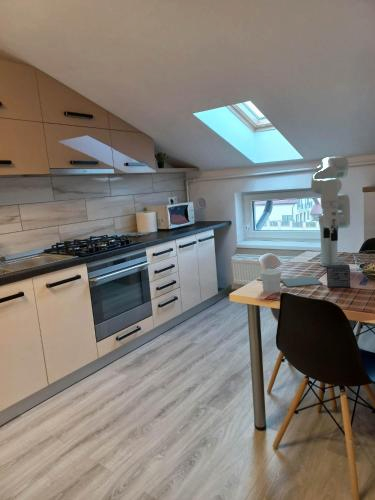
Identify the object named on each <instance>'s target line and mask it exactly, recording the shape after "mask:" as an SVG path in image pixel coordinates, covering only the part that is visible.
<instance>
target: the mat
mask: <svg viewBox="0 0 375 500" xmlns="http://www.w3.org/2000/svg"><path fill="white" fill-rule="evenodd" d="M280 282H282V284H284V286H285V287H287V288H295V287H297V288H298V287H306V286H308V287H309V286H317V285H319V286H320V285H324V284H323V281H320V280H319V279H318V278H316V277H315V276H313V275H311V276H300V277H291V278H289V277H288V278H281V279H280Z"/></svg>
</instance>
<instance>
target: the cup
mask: <svg viewBox="0 0 375 500" xmlns="http://www.w3.org/2000/svg"><path fill="white" fill-rule="evenodd" d="M281 275H282V270H280V269H275V268H272V269H271V268H270V269H269V268H268V269H263V270H261V271H260V279H261V282H262V283H261V284H262V291H263V293H267V294H275V293H279V292H280V290H281V280H280V279H282V277H281Z"/></svg>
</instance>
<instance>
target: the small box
mask: <svg viewBox="0 0 375 500" xmlns="http://www.w3.org/2000/svg"><path fill="white" fill-rule="evenodd" d="M350 269H351V266H350V265H349V264H340V265H327V266H326V285H327V286H326V287H327V288H330V289H333V288H336V289H337V288H339V289H341V288H342V289H343V288H344V289H346V288H349V289H350V288H351V270H350Z"/></svg>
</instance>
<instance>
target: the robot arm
mask: <svg viewBox="0 0 375 500" xmlns="http://www.w3.org/2000/svg"><path fill="white" fill-rule="evenodd" d="M349 167H350V165H349V160H348V158H347V157H346V156H344V155H341V156H329V157H325V158H323V159H322V160H321V161H320V163H319V166H317V167H316V168H315V173H314V174H313V176H312V177H311V180H310V181H311V183H310V184H311V185H310V189H311V192H312V194H314V195H320V208H321V209H322V214H320V215H319V216H318V225H319V230H320V259H321V260H320V261H318V265H319V266H321V267H327V265H342V264H341V261H346V259H347V257H346V256H343V257H342V256H339V253H338V251H339V250H338V245H339V243H338V241H339V240H338V239H339V229H348V228H349V227H350V225H351V204H350V203H351V202H350V197H349V194H347V193H339V192H340V191H341V190H342V187H343V183H342V181H341V180H340V179H344V178H346V177H347V176H348V173H349ZM339 211H341V212H339Z"/></svg>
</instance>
